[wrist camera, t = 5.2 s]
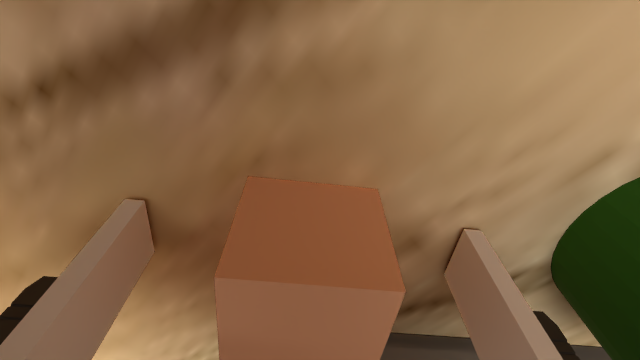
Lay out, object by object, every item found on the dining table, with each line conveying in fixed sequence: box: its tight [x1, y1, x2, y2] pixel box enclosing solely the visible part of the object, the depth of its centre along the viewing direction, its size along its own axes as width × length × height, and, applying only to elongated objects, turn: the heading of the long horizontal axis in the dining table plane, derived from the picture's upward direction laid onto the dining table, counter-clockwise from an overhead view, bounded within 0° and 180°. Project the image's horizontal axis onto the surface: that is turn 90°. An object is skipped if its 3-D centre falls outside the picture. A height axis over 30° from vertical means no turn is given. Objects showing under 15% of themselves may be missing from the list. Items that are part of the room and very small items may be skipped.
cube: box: [214, 176, 406, 360], centre depth 12 cm, size 5×5×5 cm
